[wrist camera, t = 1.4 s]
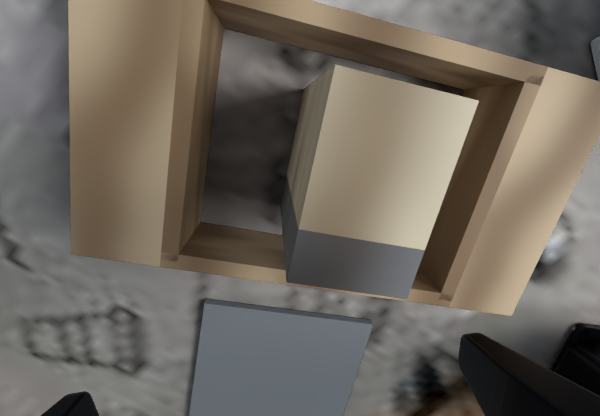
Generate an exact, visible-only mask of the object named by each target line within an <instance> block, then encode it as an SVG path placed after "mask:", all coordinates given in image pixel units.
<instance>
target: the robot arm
mask: <svg viewBox="0 0 600 416" xmlns="http://www.w3.org/2000/svg"><path fill="white" fill-rule="evenodd" d="M458 361H459V366H460V369H461V371H462V373H463V375H464V377H465V379H466V380H467V382H468V384H469V386H470V388H471V390H472V392H473V394H474V396H475V398H476V399H477V401H478V403H479V405H480V407H481V409H482V411H483V413H484V415H485V416H600V326H593V325H586V324H581V325H579V326H577V327H576V329H575V330H574V332H573V334H572V336H571V337H570V339H569V341H568V343H567V344H566V346H565V348H564V350H563V352H562V353H561V355H560V357H559V359H558V360H557V362H556V364H555V366H554V367H553V369H552V371H551V370H549V369H547V368H545V367H543V366H541V365H540V364H538V363H536V362H534V361H532V360H530V359H528V358H526V357H524V356H523V355H521V354H519V353H517V352H515V351H513V350H511V349H509V348H508V347H506V346H504V345H502V344H500V343H498V342H496V341H494V340H492V339H491V338H489V337H487V336H485V335H483V334H481V333H470V334H464V335H463V336H462V337H461V342H460V350H459V358H458ZM41 416H99V414H98V411H97V409H96V407H95V404H94V402H93V399H92V397H91V395H90V394H89V393H88V392H78V393H72V394H68V395H66V396H64V397H63V398H62V399H61V400H59V401H58V402H57V403H56V404H54V405H53V406H52V407H51V408H50V409H48V410H47V411H46V412H45V413H43V414H42V415H41Z"/></svg>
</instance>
